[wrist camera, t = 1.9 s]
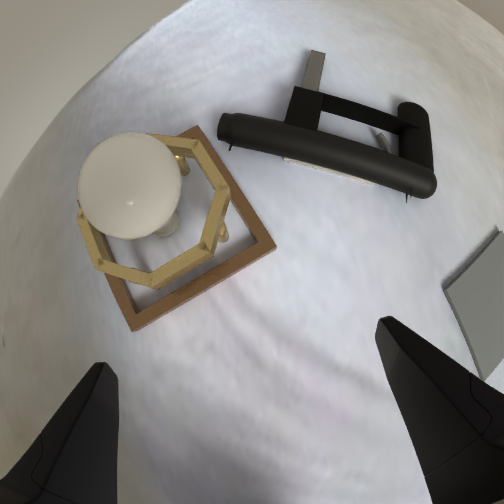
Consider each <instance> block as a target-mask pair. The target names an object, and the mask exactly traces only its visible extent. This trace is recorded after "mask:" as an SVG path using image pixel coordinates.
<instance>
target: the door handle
mask: <svg viewBox="0 0 504 504" xmlns="http://www.w3.org/2000/svg"><path fill="white" fill-rule="evenodd" d="M325 54H326V53H322V52H318V51H314V50H311V52H310V56H309V60H308V64H307V68H306V71H305V75H304V79H303V83H302V87H297V86H294V90H293V93H292V97H291V100H290V103H289V107H288V110H287V114H286V117H285V121H284V122H281V121H277V120H272V119H267V118H262V117H257V116H252V115H247V114H241V113H234V114H228V113H223V114H222V116H221V118H220V121H219V124H218V130H217V137H218V140H221V141H225V142H226V143H228V144H230V145H231V146H229V147H230V149H229V151H230V150H231V147H232V146H237V147H242V148H246V149H251V150H256V151H260V152H265V153H269V154H274V155H278V156H282V157H284V159H283V160H284V161H286V162H288V163H290V162H292V163H296V164H300V165H304V166H307V167H311V168H315V169H319V170H322V171H326V172H329V173H333V174H336V175H340V176H343V177H347V178H350V179H353V180H356V181H360V182H363V183H366V184H369V185H372V186H375V185H376V183H377V184H380V185H383V186H386V187H389V188H392V189H395V190H398V191H400V192H403V193H406V204H407V196H408V194H409V195H410V196H414V197H417V198H420V199H426V198H429V197H430V196H432V195H433V194H434V192H435V190H436V188H437V180H436V176H435V174H434V167H433V152H432V141H431V131H430V123H429V116H428V113H427V112H426V110H425V109H424V108H422V107H421V106H420V105H418V104H416V103H412V102H403V103H401V104H400V105H399V106H398V117H396V116H393V115H390V114H388V113H385V112H382V111H379V110H377V109H374V108H371V107H368V106H365V105H362V104H359V103H356V102H352V101H349V100H346V99H342V98H339V97H336V96H332V95H328V94H325V93H321V92H318V90H319V85H320V80H321V75H322V70H323V65H324V59H325ZM321 111H324V112H328V113H332V114H335V115H339V116H342V117H346V118H349V119H352V120H355V121H358V122H362V123H365V124H368V125H371V126H374V127H376V128H379V129H382V130H385V131H388V132H390V133H393V134H396V135H398V136H399V156H397V155H394V154H393V152H392V150H391V147H390V145H389V143H388V141H387V140H386V138H385V137H384V135H383V134H382V133H379V134H377V136H376V137H377V138H378V139H379V141H380V142H381V144H382V146H383V147H384V149H385V151H383V150H380V149H377V148H374V147H371V146H368V145H365V144H362V143H359V142H356V141H353V140H349V139H346V138H343V137H339V136H336V135H332V134H329V133H325V132H322V131H318V130H317V129H318V123H319V118H320V113H321Z"/></svg>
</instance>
